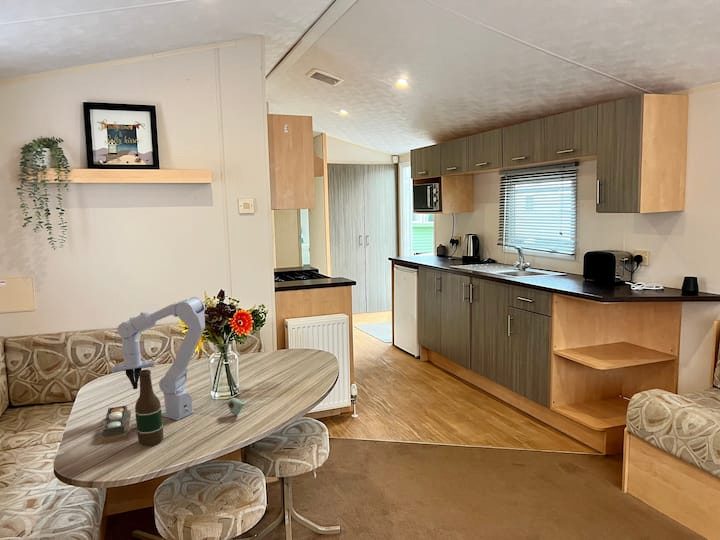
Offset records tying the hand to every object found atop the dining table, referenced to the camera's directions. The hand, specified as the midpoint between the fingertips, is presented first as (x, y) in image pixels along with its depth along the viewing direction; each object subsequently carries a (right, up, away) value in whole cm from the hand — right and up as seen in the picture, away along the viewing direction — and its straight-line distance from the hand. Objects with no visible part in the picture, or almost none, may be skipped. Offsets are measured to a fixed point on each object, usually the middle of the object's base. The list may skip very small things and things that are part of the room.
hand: (135, 388), depth 200 cm
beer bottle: (+15, -13, -23) cm, 30 cm away
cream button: (-2, -8, -12) cm, 14 cm away
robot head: (+38, -9, -5) cm, 39 cm away
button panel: (-2, -11, -11) cm, 16 cm away
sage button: (0, -10, -18) cm, 20 cm away
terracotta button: (-4, -8, -5) cm, 11 cm away
